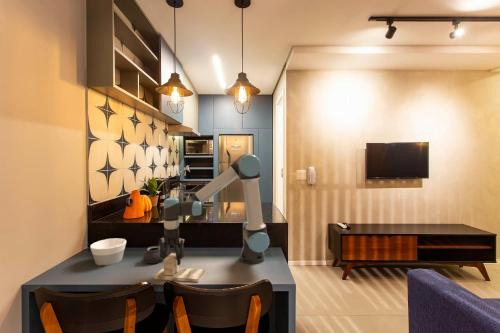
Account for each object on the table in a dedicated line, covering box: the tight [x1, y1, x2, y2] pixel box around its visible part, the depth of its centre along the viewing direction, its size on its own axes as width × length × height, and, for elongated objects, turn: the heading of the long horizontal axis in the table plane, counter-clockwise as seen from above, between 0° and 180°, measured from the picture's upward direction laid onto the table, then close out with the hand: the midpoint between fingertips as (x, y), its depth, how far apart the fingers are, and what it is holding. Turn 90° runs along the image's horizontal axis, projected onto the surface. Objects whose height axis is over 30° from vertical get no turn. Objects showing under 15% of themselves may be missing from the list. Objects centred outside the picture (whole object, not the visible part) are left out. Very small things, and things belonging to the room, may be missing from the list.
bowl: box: [90, 237, 127, 266], centre depth 155 cm, size 19×19×11 cm
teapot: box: [142, 241, 170, 264], centre depth 159 cm, size 19×15×10 cm
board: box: [153, 267, 207, 283], centre depth 136 cm, size 24×11×2 cm, turn 82°
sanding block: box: [163, 252, 181, 276], centre depth 136 cm, size 9×5×8 cm, turn 172°
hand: (172, 270), depth 137 cm, fingers closed on sanding block, 5 cm apart
